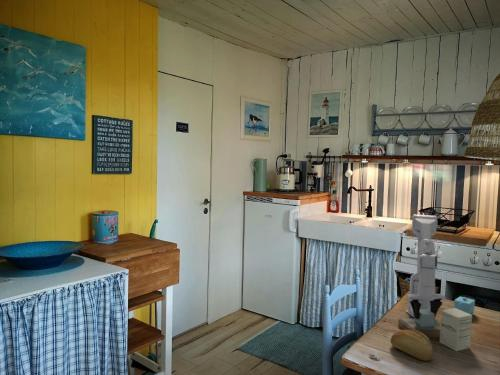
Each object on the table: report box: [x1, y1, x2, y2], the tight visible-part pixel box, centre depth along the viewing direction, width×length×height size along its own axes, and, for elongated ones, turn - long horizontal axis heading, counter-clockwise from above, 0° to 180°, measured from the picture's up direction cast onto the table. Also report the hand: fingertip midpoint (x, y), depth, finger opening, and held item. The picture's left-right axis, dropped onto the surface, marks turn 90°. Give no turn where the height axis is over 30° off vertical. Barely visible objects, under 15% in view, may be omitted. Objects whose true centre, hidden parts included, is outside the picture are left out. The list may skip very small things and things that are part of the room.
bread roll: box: [390, 328, 434, 362], centre depth 138 cm, size 10×15×8 cm, turn 41°
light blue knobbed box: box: [453, 296, 476, 315], centre depth 173 cm, size 12×6×8 cm, turn 134°
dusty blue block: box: [415, 309, 436, 327], centre depth 155 cm, size 5×5×5 cm
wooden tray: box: [397, 317, 441, 339], centre depth 156 cm, size 12×15×3 cm
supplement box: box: [439, 307, 473, 352], centre depth 144 cm, size 7×7×13 cm
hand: (424, 317), depth 155 cm, fingers open, 6 cm apart
